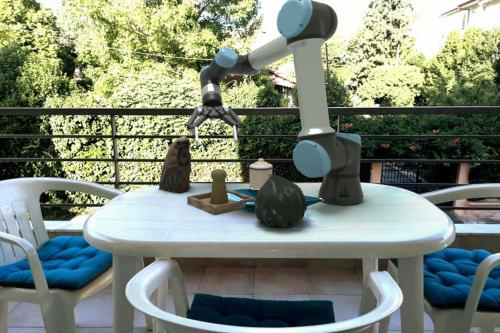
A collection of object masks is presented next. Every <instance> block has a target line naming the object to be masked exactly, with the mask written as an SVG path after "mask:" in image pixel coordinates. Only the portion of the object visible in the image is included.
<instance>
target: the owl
mask: <svg viewBox="0 0 500 333" xmlns="http://www.w3.org/2000/svg"><path fill="white" fill-rule="evenodd" d="M191 146H192V143H191V141H190V139H189V138H187V136H186V135H183V136H181V137H179V138H176V139H175V140H174V141H173V142H172V143H171V145H170V146H169V148H168V150H167V152H166V154H165V160H164V161H163V167H162V169H161V173H160V179H159V182H158V190H159V191H160V190H161V191H164V192H169V193H174V194H185V193H188V192H190V190H191V187H192V186H191V177H190V175H191V173H192V171H193V170H192V160H191V159H192V155H191V152H190V149H191Z"/></svg>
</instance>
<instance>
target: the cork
mask: <svg viewBox="0 0 500 333" xmlns="http://www.w3.org/2000/svg"><path fill="white" fill-rule="evenodd" d="M227 176H228V174H227V171H226V169H222V168H216V169H213V170H211V172H210V177H211V180H212V182H211V183H212V184H211V190H210V192H211V200H210V203H211V204H215V205H222V204H227V203H228V195H227V183H226V179H227V178H228V177H227Z"/></svg>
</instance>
